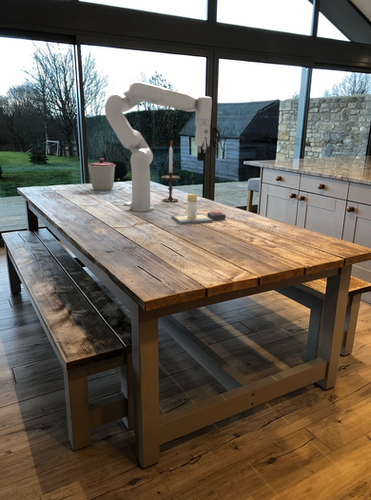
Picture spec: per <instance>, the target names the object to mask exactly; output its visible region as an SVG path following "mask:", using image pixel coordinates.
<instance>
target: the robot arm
mask: <svg viewBox="0 0 371 500" xmlns="http://www.w3.org/2000/svg"><path fill="white" fill-rule="evenodd" d="M143 102H145V103H147V104H153V105H156V106H160V107H161V106H162V107H168V108H174V109H177V110H181V111H184V112H187V113H188V112H195V120H194V121H195V122H194V124H195V137H194V145H195V146H196V149H197V156H196V159H197V161H198V162H204V161H205V153H206V150H207V148H209V147H210V144H211V143H210V141H211V128H210V127H211V124H212V123H211V120H212V108H213V107H212V106H213V105H212V104H213V99H212V97H211V96H202V95H200V96H193V95H191V94H188V93H183V92H179V91H176V90H172V89H168V88H166V87H163V86H158V85H154V84H151V83H148V82H143V81H138V80H137V81H133V82H132V83H131V84H130V86H129V89H128V90H126V91H125V92H123V93H113V94H111V95H110V96H109V97H108V98H107V99H106V102H105V106H104V113H105V117H106V119H107V121H108V123H109V125H110V127H111V128H112V130H113V131H114V132H115V135H116V136H117V138H118V140H119V142H120V143H121V144H122V146H123V148H126V150H127V149H128V150H130V152H131V155H130V169H131V191H132V194H131V200H130V201H128V202H123V207H129V210H130V211H133V212H150V211H154V207H153V206H152V205H151V171H150V168H151V167H150V164H152V161H153V159H154V154H153V151H152V150H151V148H150V146H149V144H148V143H147V141H146V140H145V137H143V135H142V134H141V132H139V131H138V130H136V129H133V127H132V126H131V125H130V122H129V121H128V119H127V118H126V116H125V115H124V112H127V111H129V110H132V109H133V108H134V107H136V106H137V105H139V104H141V103H143Z"/></svg>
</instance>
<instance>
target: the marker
mask: <svg viewBox="0 0 371 500" xmlns="http://www.w3.org/2000/svg"><path fill="white" fill-rule="evenodd" d="M197 203H198V194H197V193H188V194H187V207H186V208H187V211H186V214H187V218H196V214H197V209H198V208H197V206H198V205H197Z"/></svg>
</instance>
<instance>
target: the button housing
mask: <svg viewBox="0 0 371 500" xmlns="http://www.w3.org/2000/svg"><path fill="white" fill-rule="evenodd" d="M212 212H213V211H211V212H210V211H209V212H208V211H207V213H206V214H207V215H206V216H207V217H208V218H210V219H212V221H222V220H223V221H224V220H226V215H227V214H225V213H223V212H221V211H220V212H221V214H219V215H213V214H212Z"/></svg>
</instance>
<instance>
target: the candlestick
mask: <svg viewBox="0 0 371 500" xmlns="http://www.w3.org/2000/svg"><path fill="white" fill-rule="evenodd" d="M172 145H173V140H171V141H170V147H169V150H168V160H169V161H168V171H167V173H168V175H162V176H161V177H160V178H161V179H162V180H167V181H168V182H169V187H168V194H169V196H168V197H167V198H163V199H162V202H164V203H169V202H173V203H178V202H179V199H178V198H173V189H174V188H173V187H172V185H173V183H172V182H173V181H175V180H180V179H181V176H179V175H173V174H174V173H175V172H174V171H173V150H174V149H173V148H172Z"/></svg>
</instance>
